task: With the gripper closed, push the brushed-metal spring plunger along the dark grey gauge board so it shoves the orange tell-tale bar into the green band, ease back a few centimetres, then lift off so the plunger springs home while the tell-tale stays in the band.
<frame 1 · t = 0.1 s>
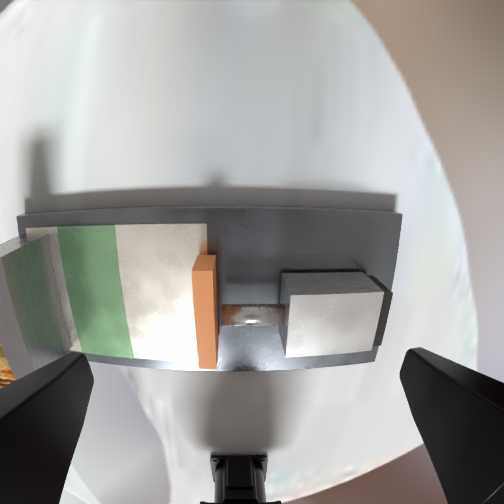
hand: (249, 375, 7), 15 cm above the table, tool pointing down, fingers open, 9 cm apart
croissant: (31, 364, 25), on the table
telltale: (206, 313, 19), point 3 cm above the table, slide at 0.0 cm
gauge board: (196, 292, 22), on the table
plunger: (304, 313, 19), point 3 cm above the table, slide at 0.0 cm
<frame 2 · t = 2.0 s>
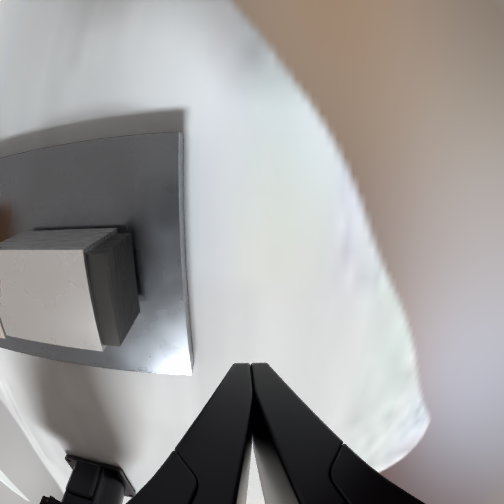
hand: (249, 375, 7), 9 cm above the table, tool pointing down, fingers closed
plunger: (31, 282, 12), point 3 cm above the table, slide at 0.0 cm
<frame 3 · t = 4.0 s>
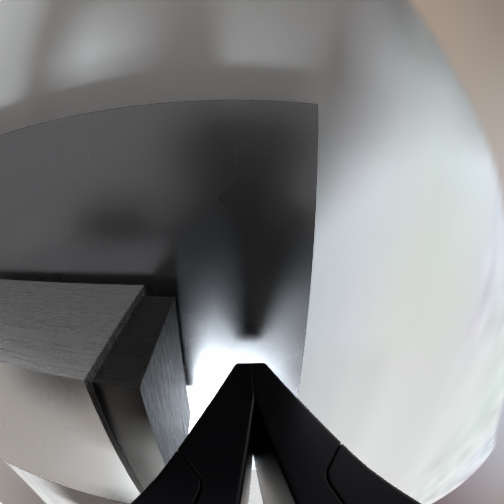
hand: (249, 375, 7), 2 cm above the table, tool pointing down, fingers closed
plunger: (0, 373, 6), point 3 cm above the table, slide at 1.1 cm, touching gripper, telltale
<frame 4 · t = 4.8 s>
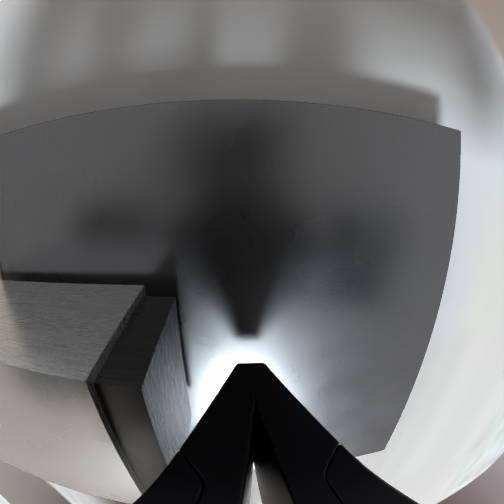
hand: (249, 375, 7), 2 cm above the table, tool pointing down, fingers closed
gauge board: (18, 316, 9), on the table
plunger: (0, 374, 6), point 3 cm above the table, slide at 5.7 cm, touching gripper, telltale
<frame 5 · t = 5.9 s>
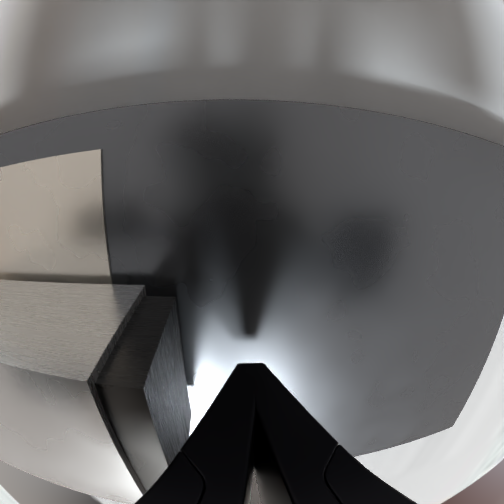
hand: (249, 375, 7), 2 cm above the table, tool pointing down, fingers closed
gauge board: (108, 326, 9), on the table
plunger: (0, 374, 6), point 3 cm above the table, slide at 10.0 cm, touching gripper, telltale
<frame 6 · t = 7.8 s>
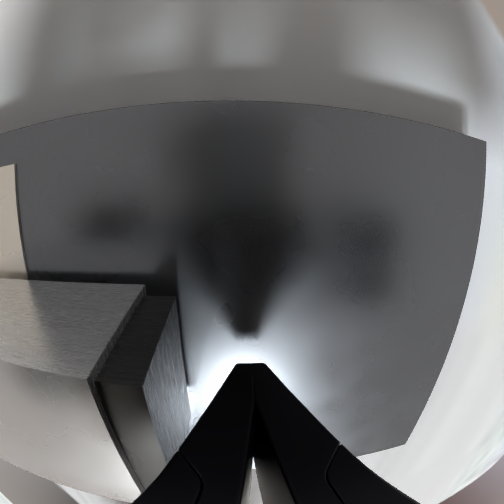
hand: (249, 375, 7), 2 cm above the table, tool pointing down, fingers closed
gauge board: (40, 318, 9), on the table
plunger: (0, 372, 6), point 3 cm above the table, slide at 6.9 cm, touching gripper
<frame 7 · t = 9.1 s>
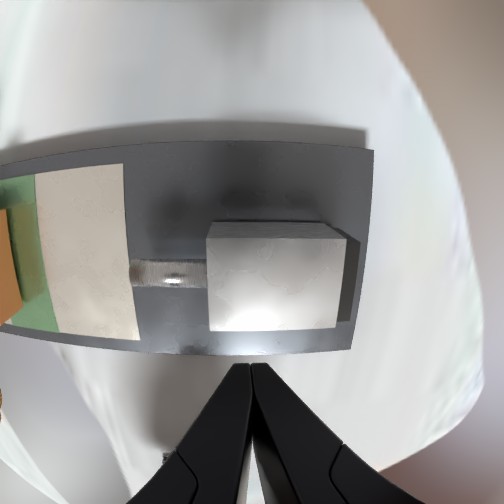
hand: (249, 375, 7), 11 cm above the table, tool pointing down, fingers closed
gauge board: (120, 253, 18), on the table
plunger: (239, 273, 15), point 3 cm above the table, slide at 0.0 cm
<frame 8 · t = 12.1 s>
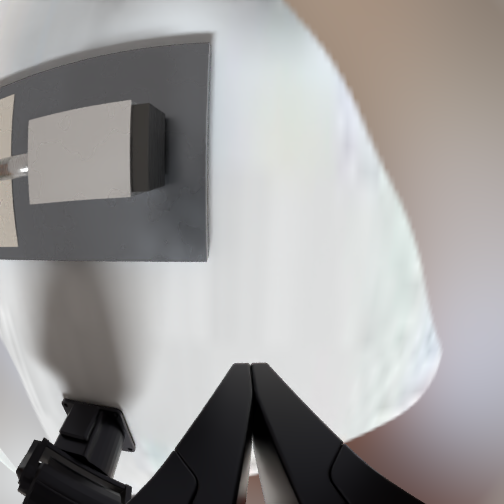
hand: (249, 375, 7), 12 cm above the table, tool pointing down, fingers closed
gauge board: (12, 170, 16), on the table
plunger: (65, 157, 13), point 3 cm above the table, slide at 0.0 cm
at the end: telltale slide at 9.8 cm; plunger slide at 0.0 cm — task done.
